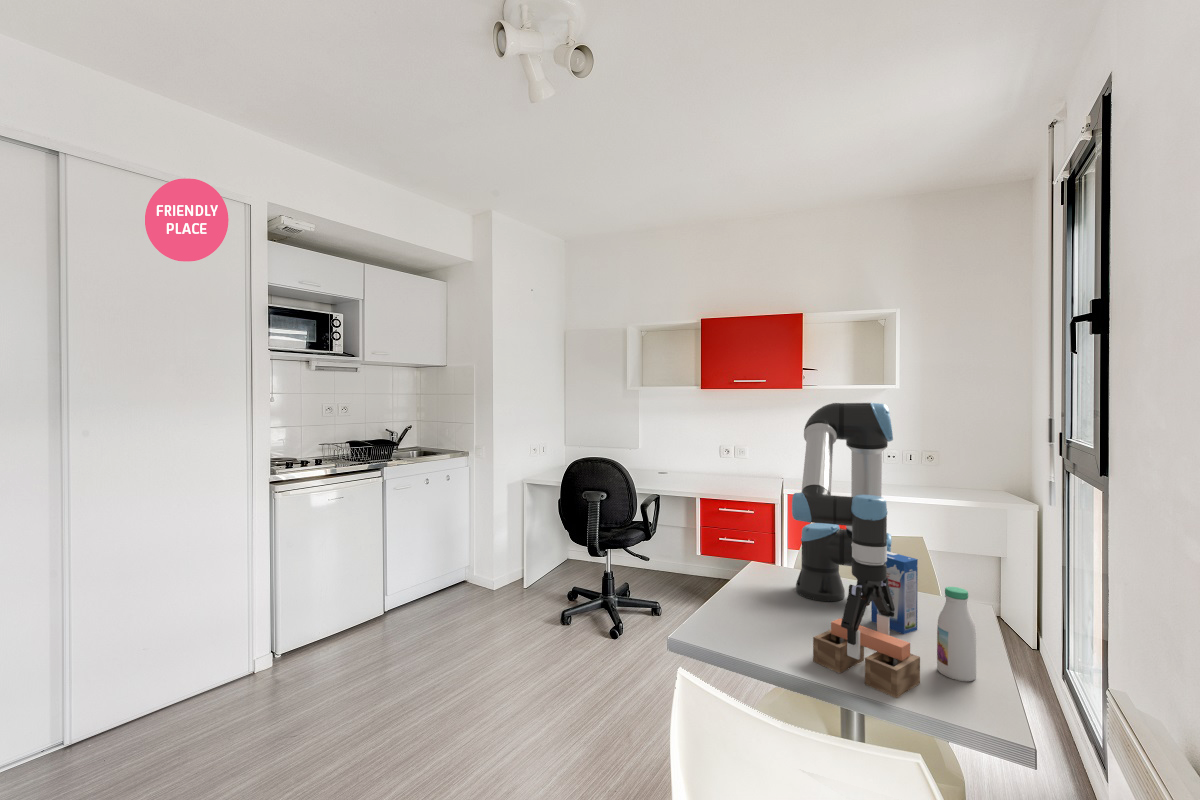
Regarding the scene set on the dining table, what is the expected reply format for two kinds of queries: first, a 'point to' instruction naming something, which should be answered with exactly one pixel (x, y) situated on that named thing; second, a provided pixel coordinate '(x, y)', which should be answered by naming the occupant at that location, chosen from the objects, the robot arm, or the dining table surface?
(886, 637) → the salmon bridge bar
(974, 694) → the dining table surface
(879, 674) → the keyhole plates
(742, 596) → the dining table surface
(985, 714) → the dining table surface
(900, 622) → the milk carton
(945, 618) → the milk bottle
